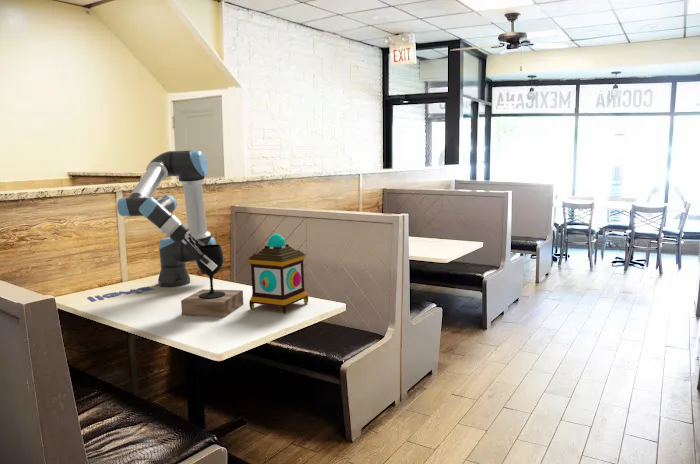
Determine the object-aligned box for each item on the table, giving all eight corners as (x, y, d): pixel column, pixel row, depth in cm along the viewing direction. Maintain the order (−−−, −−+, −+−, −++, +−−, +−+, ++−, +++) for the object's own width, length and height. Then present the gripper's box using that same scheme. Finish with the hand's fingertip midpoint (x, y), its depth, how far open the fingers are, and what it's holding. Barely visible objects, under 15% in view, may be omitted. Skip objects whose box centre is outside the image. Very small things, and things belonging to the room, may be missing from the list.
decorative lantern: (244, 310, 219) (240, 235, 215) (273, 298, 237) (270, 229, 232) (286, 315, 210) (282, 238, 206) (313, 302, 227) (310, 231, 223)
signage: (148, 285, 264) (156, 289, 257) (148, 287, 264) (156, 290, 257) (85, 297, 246) (92, 300, 238) (86, 298, 246) (92, 302, 239)
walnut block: (203, 303, 231) (202, 289, 230) (243, 304, 228) (242, 290, 227) (182, 315, 214) (181, 300, 213) (225, 317, 210) (224, 301, 209)
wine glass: (216, 299, 213) (213, 248, 210) (193, 298, 216) (190, 248, 213) (230, 293, 223) (227, 244, 220) (208, 291, 226) (205, 243, 223)
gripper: (174, 232, 227) (213, 265, 231) (162, 241, 202) (206, 278, 206) (186, 218, 227) (225, 252, 231) (176, 226, 202) (220, 264, 206)
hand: (216, 265), depth 218 cm, fingers open, 13 cm apart
